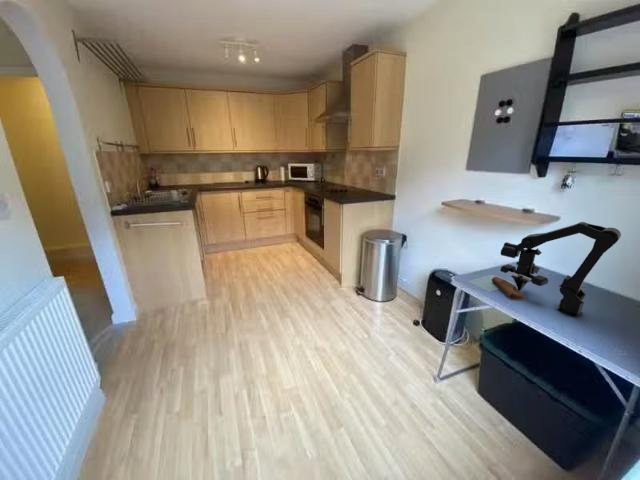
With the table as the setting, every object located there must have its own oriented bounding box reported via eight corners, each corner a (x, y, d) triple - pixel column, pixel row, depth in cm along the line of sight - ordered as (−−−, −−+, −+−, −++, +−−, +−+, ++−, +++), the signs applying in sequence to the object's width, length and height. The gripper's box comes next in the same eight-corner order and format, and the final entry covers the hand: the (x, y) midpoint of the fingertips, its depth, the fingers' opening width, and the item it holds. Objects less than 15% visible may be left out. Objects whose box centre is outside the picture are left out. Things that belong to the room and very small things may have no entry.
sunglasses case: (528, 299, 129) (523, 288, 127) (513, 305, 131) (508, 294, 129) (507, 281, 146) (502, 271, 144) (494, 287, 148) (489, 277, 146)
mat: (515, 284, 145) (515, 283, 144) (489, 292, 137) (489, 292, 137) (492, 275, 156) (492, 274, 156) (467, 282, 149) (467, 281, 149)
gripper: (559, 264, 123) (551, 295, 128) (516, 252, 139) (511, 279, 144) (544, 269, 119) (536, 300, 124) (502, 255, 135) (497, 283, 140)
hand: (519, 290), depth 133 cm, fingers closed
